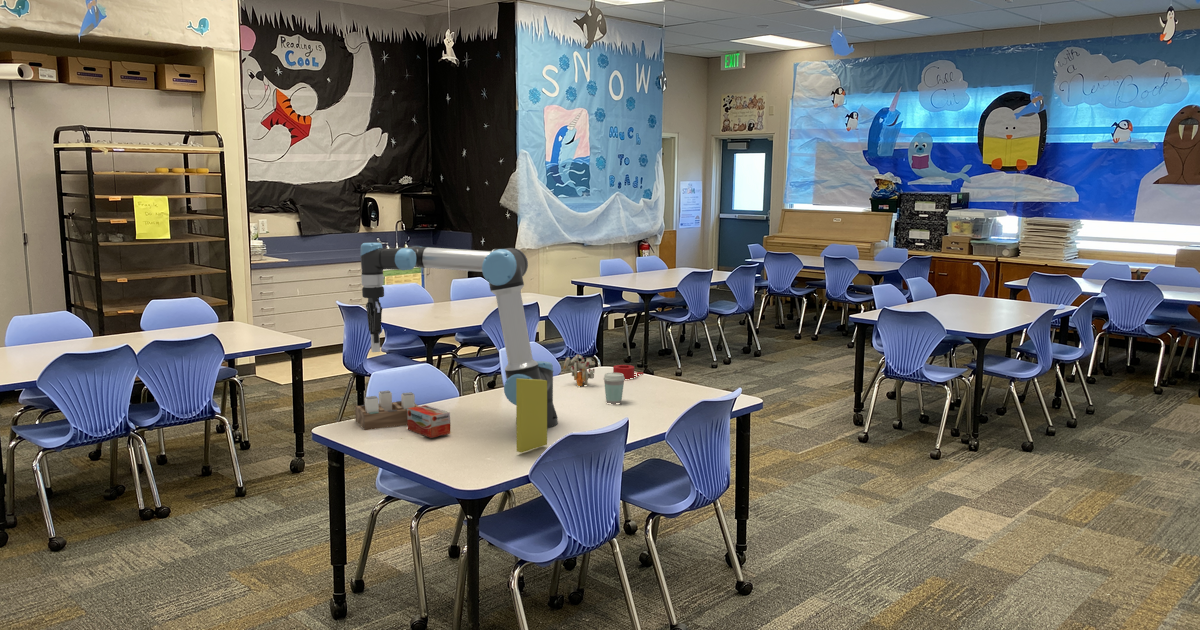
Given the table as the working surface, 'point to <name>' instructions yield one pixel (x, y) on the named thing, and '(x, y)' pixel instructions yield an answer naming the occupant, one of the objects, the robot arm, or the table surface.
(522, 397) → the flat olive board
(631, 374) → the red barrier tape roll
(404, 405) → the tab
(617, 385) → the coffee cup
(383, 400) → the tab
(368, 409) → the tab
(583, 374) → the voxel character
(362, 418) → the wooden slotted rack
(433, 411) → the medicine box
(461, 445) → the table surface
